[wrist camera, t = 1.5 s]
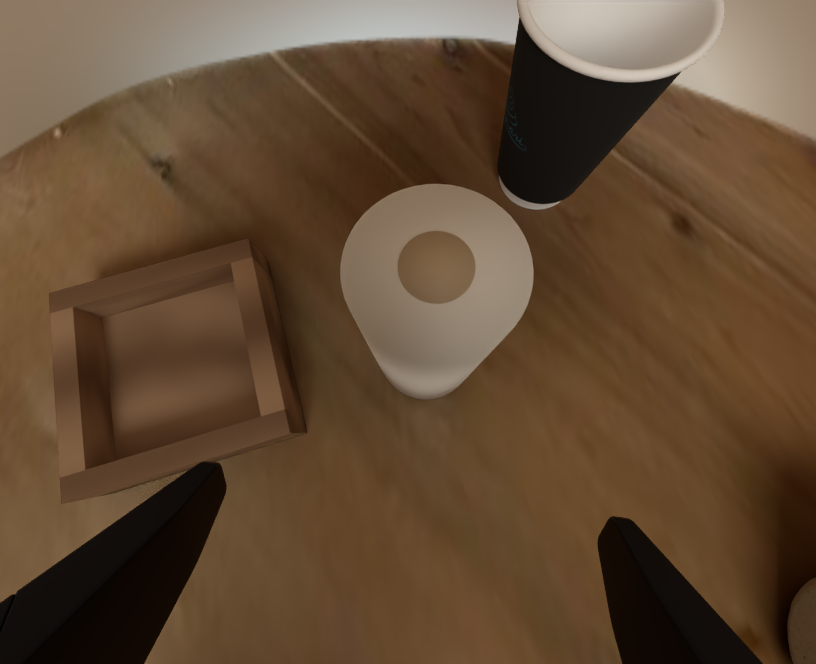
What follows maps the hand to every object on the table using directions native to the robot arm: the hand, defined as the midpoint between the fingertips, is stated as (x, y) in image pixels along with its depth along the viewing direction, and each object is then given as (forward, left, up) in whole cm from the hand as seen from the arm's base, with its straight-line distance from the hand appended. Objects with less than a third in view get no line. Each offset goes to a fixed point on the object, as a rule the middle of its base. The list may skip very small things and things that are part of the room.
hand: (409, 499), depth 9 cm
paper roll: (+6, +3, -12) cm, 14 cm away
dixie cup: (+20, +3, -13) cm, 23 cm away
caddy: (-2, +14, -12) cm, 19 cm away
